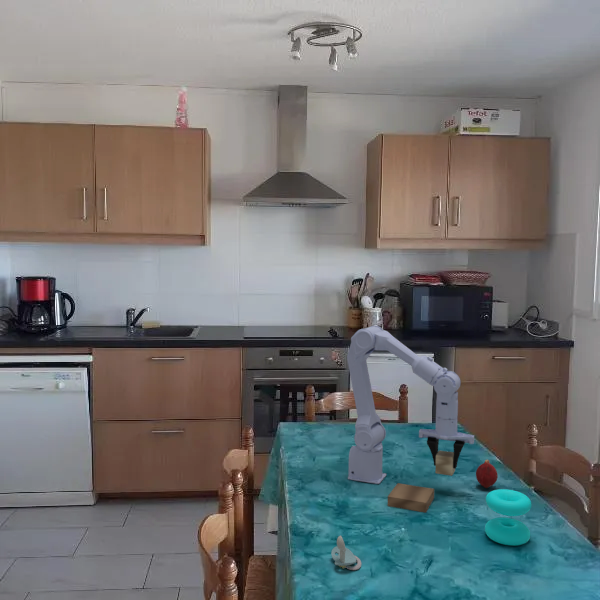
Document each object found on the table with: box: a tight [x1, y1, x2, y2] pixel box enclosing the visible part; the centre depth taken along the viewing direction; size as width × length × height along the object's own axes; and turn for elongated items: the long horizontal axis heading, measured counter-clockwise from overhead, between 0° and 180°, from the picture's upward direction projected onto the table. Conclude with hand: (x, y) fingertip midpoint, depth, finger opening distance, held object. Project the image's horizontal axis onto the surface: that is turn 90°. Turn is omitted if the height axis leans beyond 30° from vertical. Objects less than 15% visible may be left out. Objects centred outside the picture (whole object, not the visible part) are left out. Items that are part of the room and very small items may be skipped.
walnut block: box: [387, 483, 435, 513], centre depth 163 cm, size 10×10×3 cm
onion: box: [475, 459, 499, 489], centre depth 172 cm, size 6×6×8 cm
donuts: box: [484, 488, 532, 546], centre depth 142 cm, size 10×10×10 cm
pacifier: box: [331, 535, 362, 571], centre depth 130 cm, size 7×6×6 cm
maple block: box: [435, 449, 456, 477], centre depth 168 cm, size 4×4×5 cm
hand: (445, 465), depth 169 cm, fingers closed on maple block, 4 cm apart
